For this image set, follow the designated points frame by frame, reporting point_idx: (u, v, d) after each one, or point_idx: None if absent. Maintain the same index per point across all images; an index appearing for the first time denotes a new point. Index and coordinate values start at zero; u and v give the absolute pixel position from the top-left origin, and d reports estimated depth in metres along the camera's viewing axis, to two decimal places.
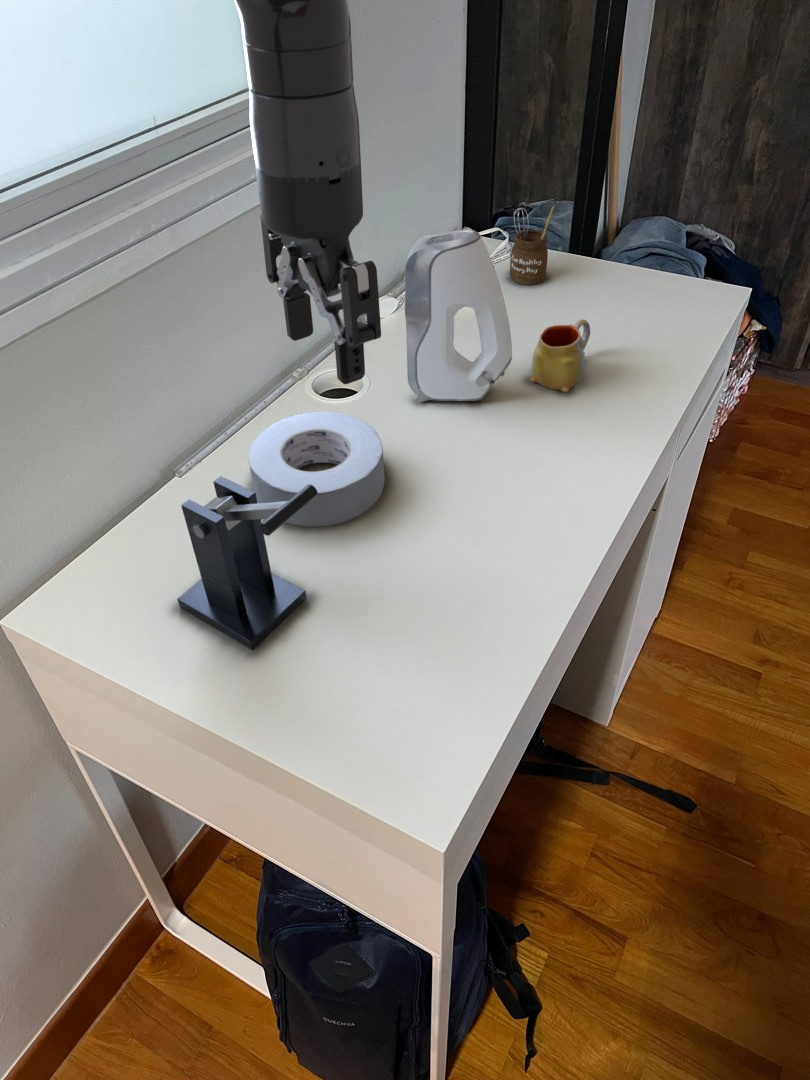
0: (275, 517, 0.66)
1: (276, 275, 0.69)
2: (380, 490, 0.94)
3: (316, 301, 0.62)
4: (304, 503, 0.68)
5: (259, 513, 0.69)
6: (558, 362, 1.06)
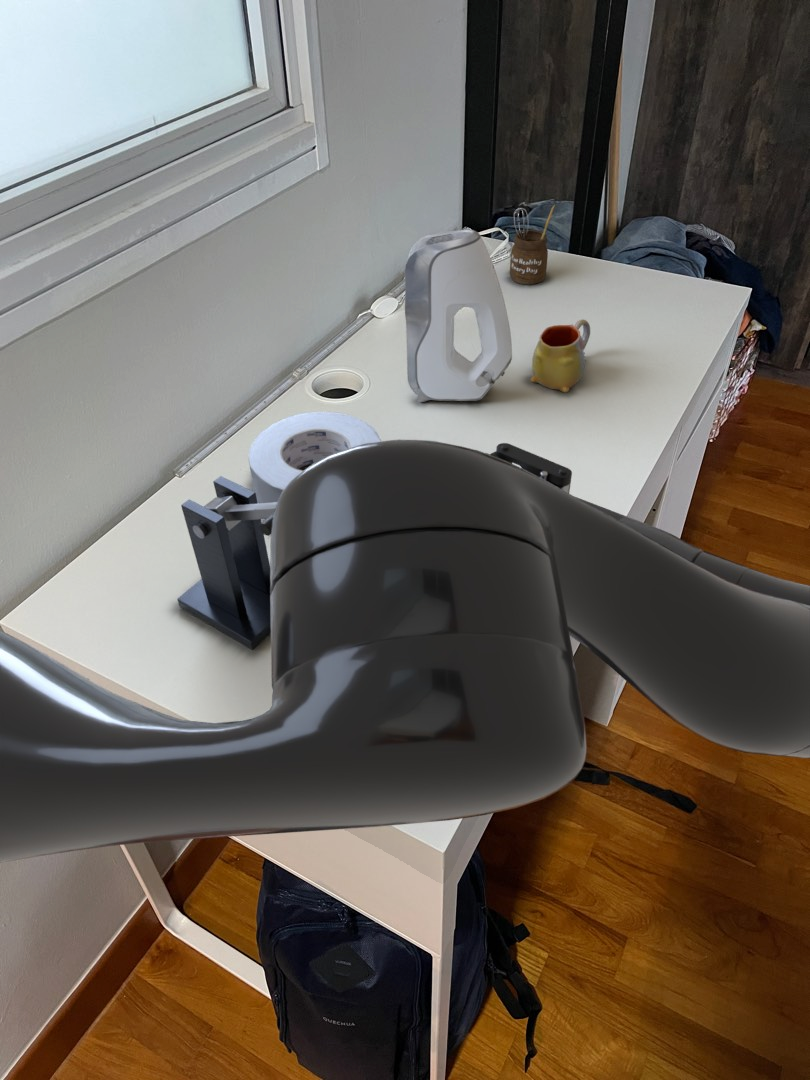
0: None
1: (502, 457, 0.58)
2: None
3: None
4: None
5: (259, 513, 0.69)
6: (558, 362, 1.06)
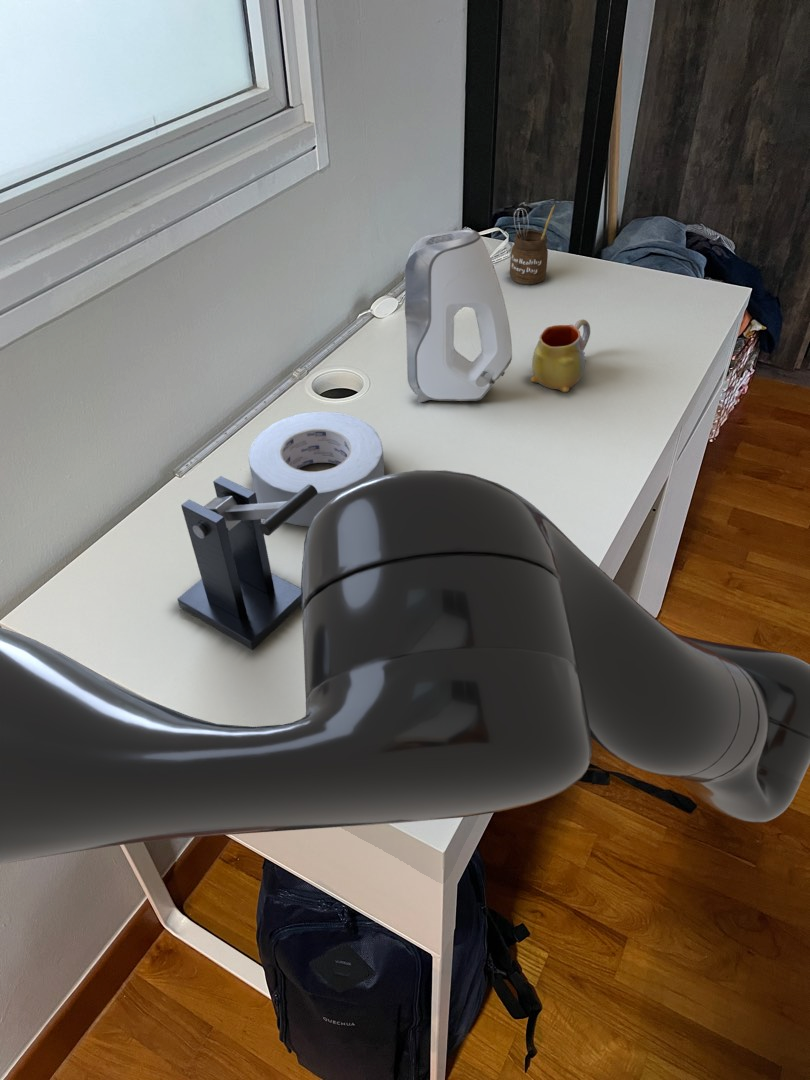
0: (275, 517, 0.66)
1: None
2: None
3: None
4: (304, 503, 0.68)
5: (259, 513, 0.69)
6: (558, 362, 1.06)
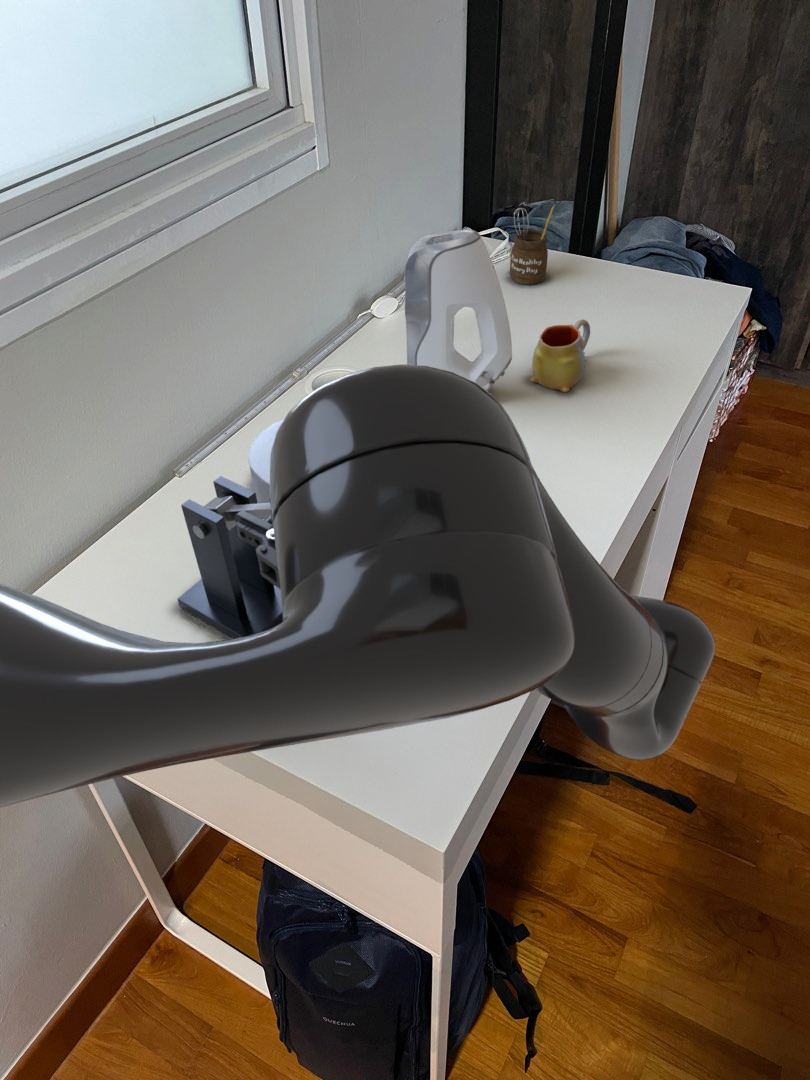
0: None
1: None
2: None
3: None
4: None
5: (259, 513, 0.69)
6: (558, 362, 1.06)
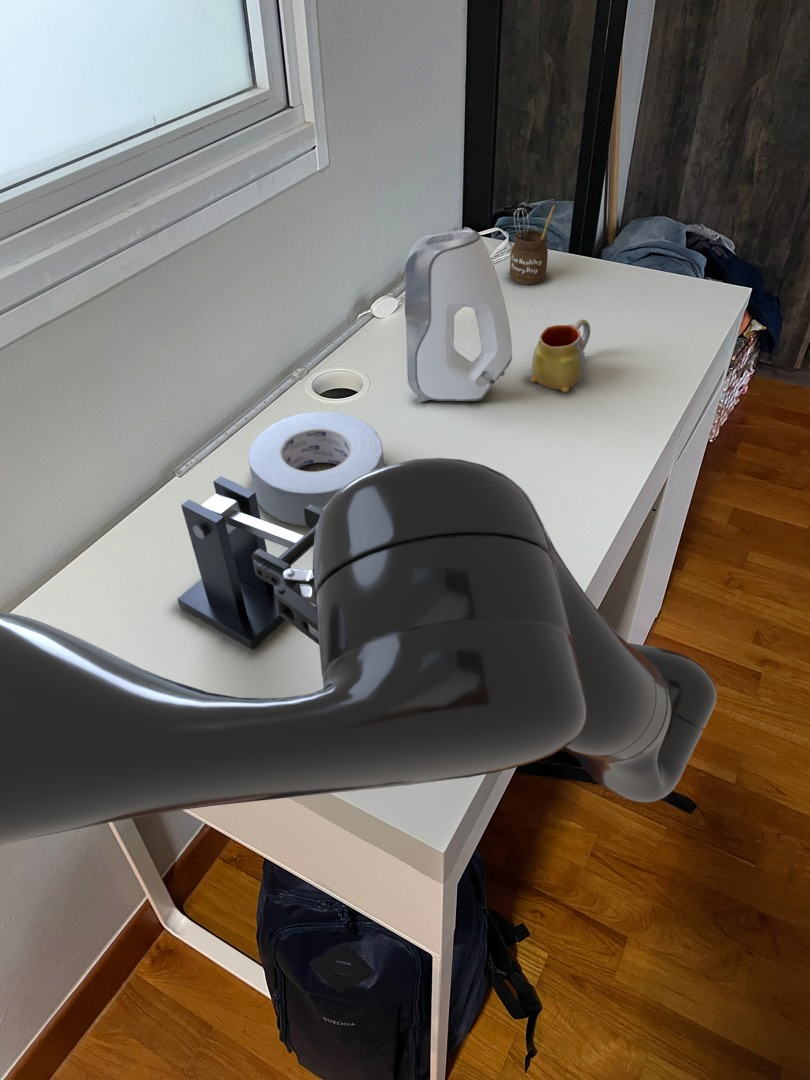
0: (293, 554, 0.68)
1: None
2: None
3: None
4: None
5: (269, 536, 0.71)
6: (558, 362, 1.06)
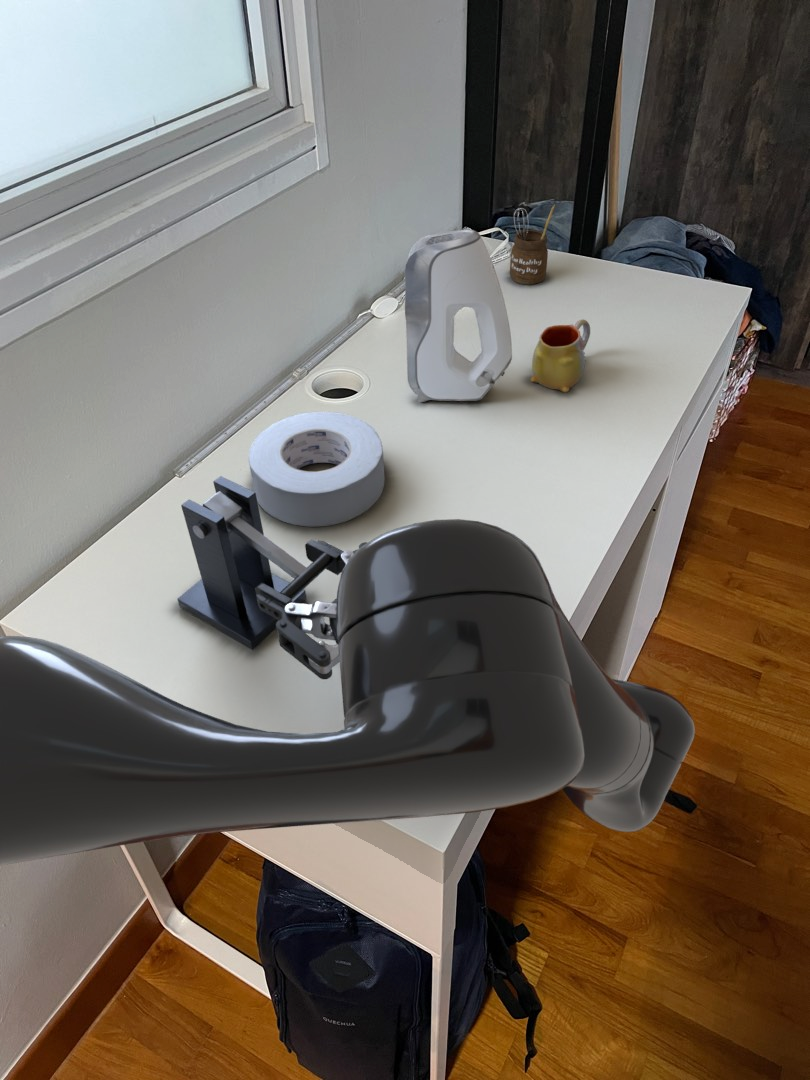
0: (297, 590, 0.71)
1: None
2: (380, 490, 0.94)
3: (327, 605, 0.68)
4: None
5: (272, 557, 0.73)
6: (558, 362, 1.06)
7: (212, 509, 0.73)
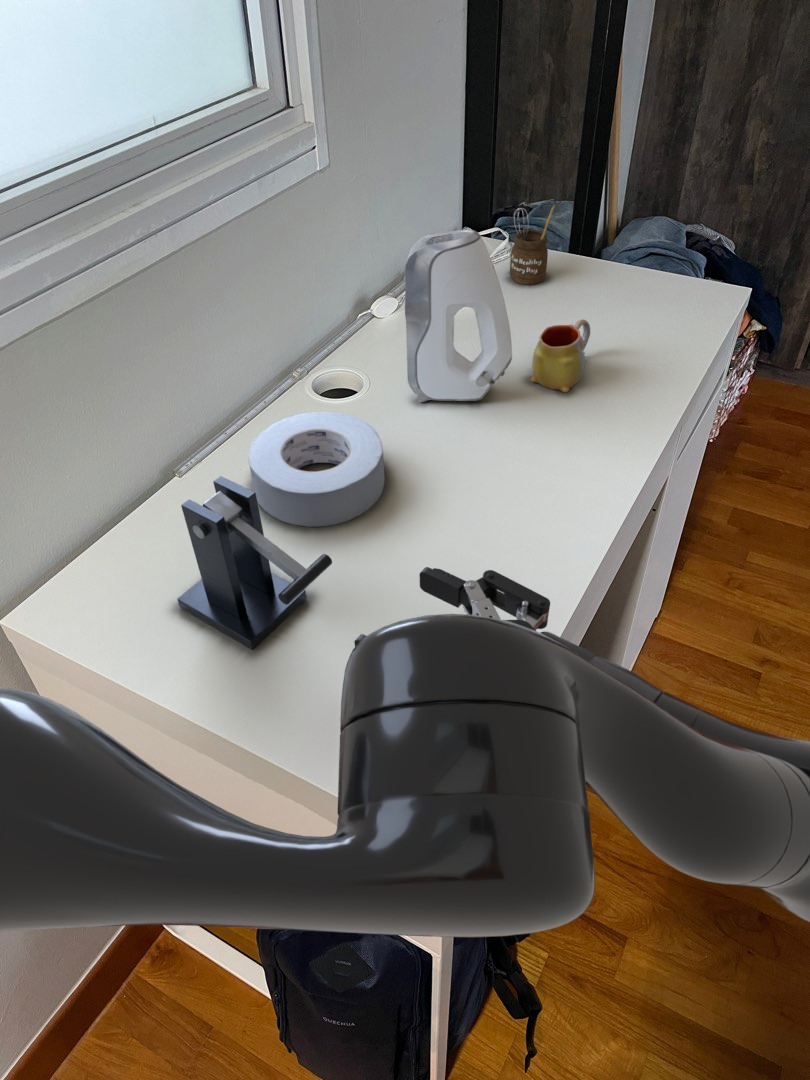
0: (297, 591, 0.71)
1: (488, 584, 0.64)
2: (380, 490, 0.94)
3: None
4: None
5: (272, 558, 0.73)
6: (558, 362, 1.06)
7: (212, 509, 0.73)
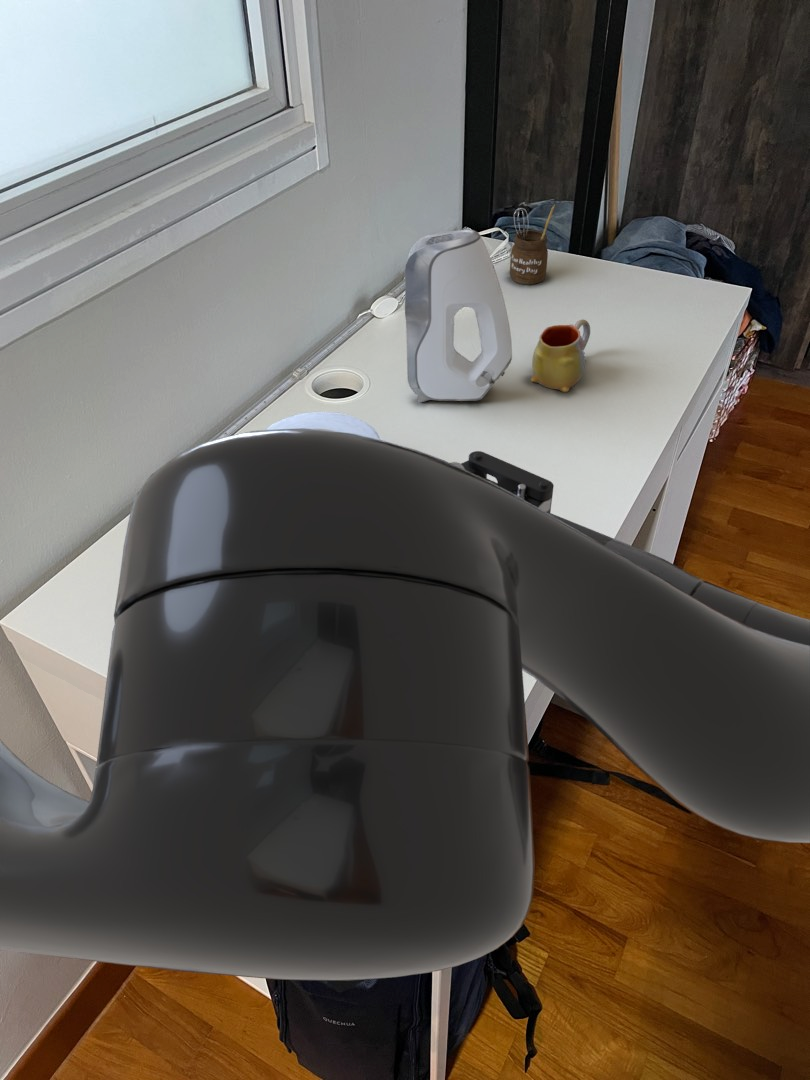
0: None
1: (475, 467, 0.51)
2: None
3: None
4: None
5: None
6: (558, 362, 1.06)
7: None
